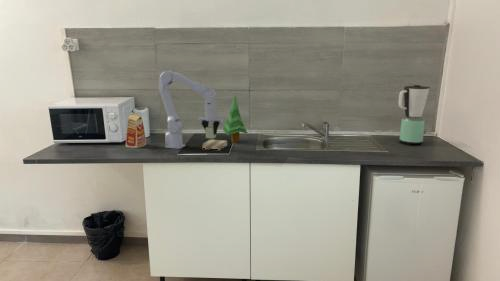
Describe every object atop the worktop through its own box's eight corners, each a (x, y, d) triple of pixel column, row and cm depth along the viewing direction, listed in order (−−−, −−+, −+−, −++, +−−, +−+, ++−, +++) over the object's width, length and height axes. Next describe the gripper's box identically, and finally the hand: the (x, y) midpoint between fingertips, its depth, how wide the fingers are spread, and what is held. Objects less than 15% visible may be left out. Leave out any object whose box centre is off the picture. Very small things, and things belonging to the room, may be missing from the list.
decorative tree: (251, 140, 228) (251, 92, 221) (236, 145, 215) (235, 95, 208) (234, 137, 235) (234, 91, 228) (218, 142, 223) (217, 93, 216)
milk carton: (125, 146, 214) (122, 113, 209) (135, 143, 222) (133, 110, 217) (138, 148, 211) (135, 114, 206) (148, 144, 219) (145, 111, 214)
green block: (205, 138, 207) (205, 127, 206) (208, 136, 211) (208, 126, 210) (213, 138, 206) (212, 128, 204) (216, 136, 210) (215, 126, 209)
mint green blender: (415, 139, 230) (421, 84, 221) (430, 145, 217) (437, 86, 208) (388, 141, 226) (394, 84, 217) (402, 146, 213) (408, 86, 204)
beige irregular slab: (202, 148, 209) (202, 143, 208) (210, 144, 219) (210, 139, 219) (220, 150, 206) (220, 145, 205) (227, 145, 216) (227, 140, 215)
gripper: (195, 110, 204) (196, 134, 207) (219, 112, 199) (220, 136, 203) (200, 109, 210) (201, 131, 214) (224, 110, 206) (224, 133, 209)
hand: (211, 133), depth 209 cm, fingers closed on green block, 4 cm apart
